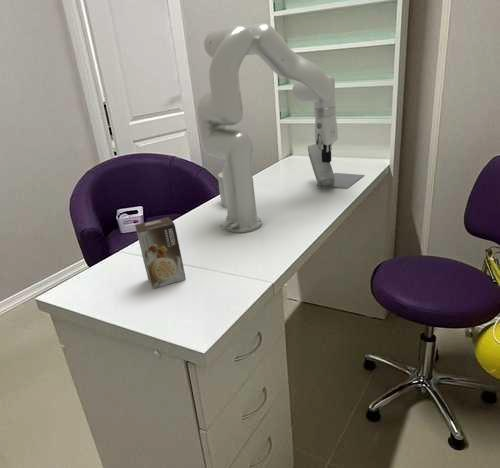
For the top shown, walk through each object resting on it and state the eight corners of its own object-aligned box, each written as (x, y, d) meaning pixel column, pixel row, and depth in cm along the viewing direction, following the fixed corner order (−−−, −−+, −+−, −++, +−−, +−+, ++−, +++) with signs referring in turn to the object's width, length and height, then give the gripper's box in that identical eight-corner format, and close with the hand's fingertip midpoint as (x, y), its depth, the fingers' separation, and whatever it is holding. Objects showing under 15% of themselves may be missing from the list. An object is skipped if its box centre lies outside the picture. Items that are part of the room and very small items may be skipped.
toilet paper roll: (257, 198, 165) (254, 169, 161) (242, 209, 156) (239, 178, 151) (231, 196, 171) (228, 168, 166) (215, 206, 162) (211, 177, 157)
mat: (347, 189, 164) (347, 188, 164) (316, 186, 172) (316, 185, 172) (364, 175, 178) (364, 175, 177) (335, 173, 185) (335, 172, 185)
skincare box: (335, 177, 160) (325, 140, 165) (316, 181, 161) (307, 144, 166) (334, 185, 169) (325, 149, 173) (316, 189, 169) (308, 153, 174)
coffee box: (180, 270, 117) (169, 215, 110) (186, 279, 111) (175, 223, 105) (147, 279, 114) (134, 224, 107) (151, 289, 108) (138, 232, 102)
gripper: (325, 116, 146) (327, 168, 153) (343, 108, 157) (344, 157, 164) (305, 116, 150) (308, 166, 157) (324, 108, 161) (326, 156, 168)
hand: (326, 161), depth 161 cm, fingers closed
